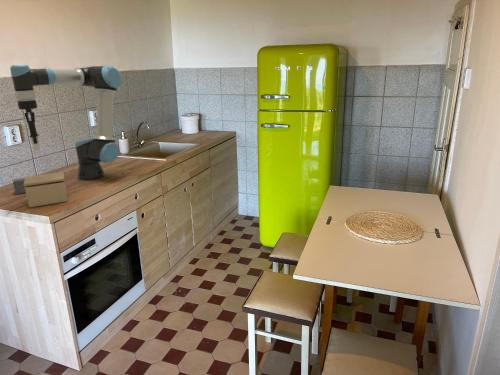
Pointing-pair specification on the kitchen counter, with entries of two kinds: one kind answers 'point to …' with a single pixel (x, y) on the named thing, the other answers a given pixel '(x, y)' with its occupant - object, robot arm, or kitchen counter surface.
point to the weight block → (19, 185)
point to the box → (46, 193)
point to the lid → (44, 179)
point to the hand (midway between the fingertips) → (37, 149)
